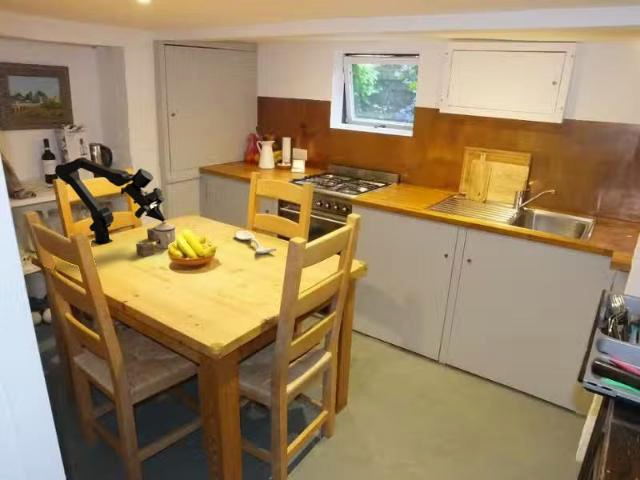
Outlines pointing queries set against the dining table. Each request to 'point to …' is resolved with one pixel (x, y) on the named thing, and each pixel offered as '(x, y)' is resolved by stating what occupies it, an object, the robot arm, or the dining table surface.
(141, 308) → the dining table surface
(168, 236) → the teacup with lid
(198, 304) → the dining table surface
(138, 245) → the walnut block two dots
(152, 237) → the walnut block three dots
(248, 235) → the spoon
